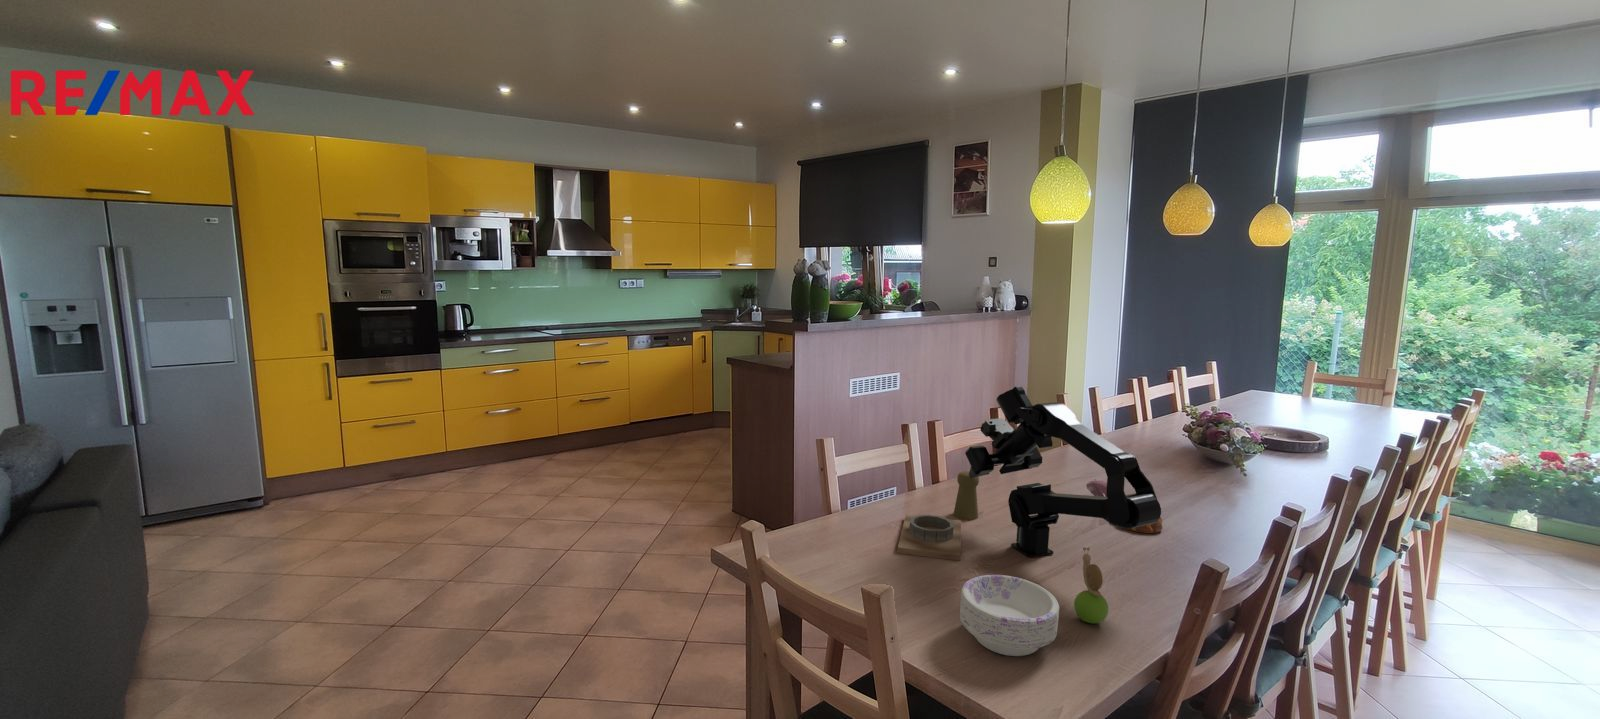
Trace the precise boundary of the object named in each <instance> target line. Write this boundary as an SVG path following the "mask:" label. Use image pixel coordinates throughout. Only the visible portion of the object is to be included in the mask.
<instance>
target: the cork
mask: <svg viewBox="0 0 1600 719" xmlns="http://www.w3.org/2000/svg"><path fill="white" fill-rule="evenodd" d="M969 472H970V470H969V471H968V470H967V471H966V470H965V471H964V470H963V471H960V472H959V473H958V475H957V479H956V482H957V483H958V489H957V495H956V499H955V503H954V504H955V505H954V510H953V516H954V517H955V518H956V519H960V520H965V521H973V520H977V519H979V508H978V507H979V505H978V492H977V486H978V485H979V484H980V477H976V478H970V477H969Z"/></svg>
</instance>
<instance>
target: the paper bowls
mask: <svg viewBox="0 0 1600 719" xmlns="http://www.w3.org/2000/svg"><path fill="white" fill-rule="evenodd" d="M960 590H961V591H960V605H959V606H960V608H959V610H960V611H959V620H960V622H961V623H962V626H963V627H964V628H965V630H967V631H968V632H969V633H970V634H971V635H972V636H974V638H975V639H976V640H977V642H978V643H979V644H980V645H982V646H983V647H985V648H986V649H988V650H990V651H992V652H994V653H997V654H999V655H1003V656H1010V657H1023V656H1028V655H1032V654H1034V653H1035V652H1037V651H1038V649H1040V648H1043V647H1045V646H1047V645H1049V644H1051V643H1052V642H1054V640H1055V639H1056V638H1057V634H1058V625H1059V615H1060V604H1059V602H1058V600H1057V598H1056V597H1055V596H1054V595H1053V594H1052V593H1051V592H1050V591H1049V590H1047V589H1046V588H1045V587H1043V586H1041V585H1039V584H1037V583H1035V582H1033V581H1030V580H1028V579H1025V578H1020V577H1018V576H1017V577H1016V576H1012V575H1006V574H1005V575H1003V574H985V575H979V576H976V577H972V578H970V579H968V580H967V581H966V582H964V584H963V585H962V588H961V589H960Z"/></svg>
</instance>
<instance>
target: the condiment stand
mask: <svg viewBox="0 0 1600 719" xmlns="http://www.w3.org/2000/svg"><path fill="white" fill-rule="evenodd" d="M903 520H904V522H903V525H902V529H901V533H900V537H899V541H898V544H897V553H898V554H905V555H914V556H920V557H927V558H928V557H929V558H935V559H943V560H952V561H959V562H961V553H962V552H961V550H962V549H961V548H962V546H961V543H962V541H961V540H962V520H959V519H950V518H946V517H944V516H940V515H935V514H934V515H933V514H919V515H913V514H905V516H904V519H903Z"/></svg>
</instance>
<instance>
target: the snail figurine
mask: <svg viewBox="0 0 1600 719" xmlns="http://www.w3.org/2000/svg"><path fill="white" fill-rule="evenodd" d="M1090 550H1091V549H1090V547H1083V548H1082V551H1083V556H1082V561H1083V563H1082V564H1083V565H1082V574H1083V581H1084V584H1085V587H1086V590H1082V591H1081V592H1079V593H1078V594H1077V595H1076V596H1075V599H1074V602H1073V603H1074V604H1073V606H1074V611H1075V613H1076V615H1077V616H1078V617H1079V618H1080V620H1082V621H1083V622H1084V623H1085V622H1086V623H1088V624H1095V625H1096V624H1099V623H1101V622H1103V621H1105V619H1106V618H1107V617H1108V614H1109V605H1108V601H1107V600H1106V598H1105V597H1104V596H1103V595H1102V593H1101V592H1100V589H1101V588H1102V585H1103V582H1104V581H1103V573H1102V570H1101V568H1100V566H1098V565H1097V564H1095V563H1091V561H1092V558H1091V556H1090V555H1089V553H1085V552H1086V551H1087V552H1089V551H1090Z"/></svg>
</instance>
